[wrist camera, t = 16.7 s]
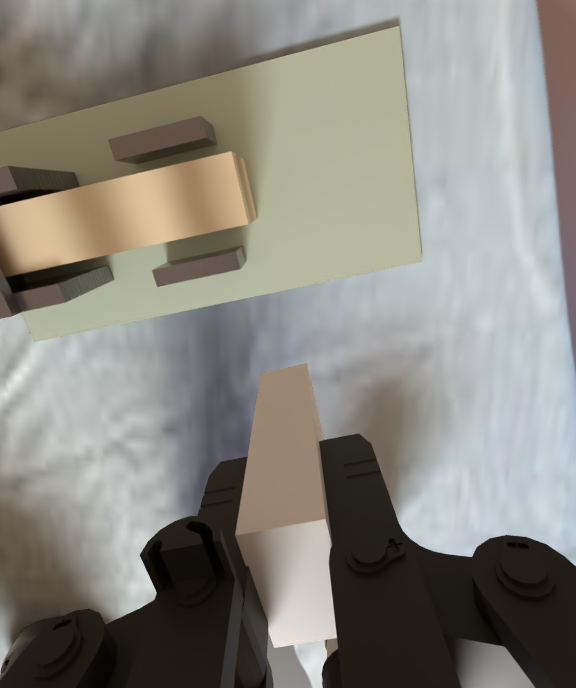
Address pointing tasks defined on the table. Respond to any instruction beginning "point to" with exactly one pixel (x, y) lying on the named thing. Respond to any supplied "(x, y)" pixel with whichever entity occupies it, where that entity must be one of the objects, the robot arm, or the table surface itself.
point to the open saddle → (163, 145)
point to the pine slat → (126, 213)
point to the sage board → (251, 179)
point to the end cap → (18, 296)
